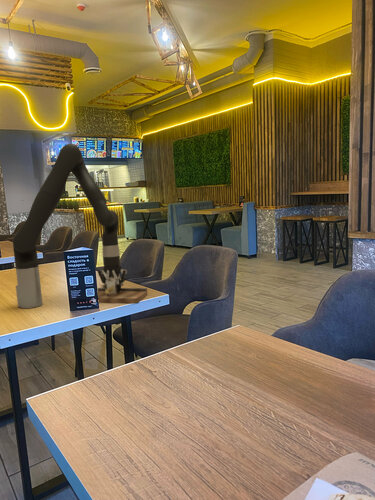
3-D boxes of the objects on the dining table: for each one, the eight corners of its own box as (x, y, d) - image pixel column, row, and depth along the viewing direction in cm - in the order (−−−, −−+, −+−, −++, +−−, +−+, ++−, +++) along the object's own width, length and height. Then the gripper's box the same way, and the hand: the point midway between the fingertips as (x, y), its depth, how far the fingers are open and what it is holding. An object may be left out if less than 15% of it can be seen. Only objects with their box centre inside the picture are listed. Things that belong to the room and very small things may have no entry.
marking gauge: (103, 297, 170) (102, 283, 169) (112, 291, 180) (111, 278, 179) (111, 297, 169) (110, 283, 168) (120, 291, 179) (119, 278, 178)
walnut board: (85, 302, 170) (85, 295, 170) (99, 294, 184) (99, 287, 183) (137, 303, 165) (136, 296, 164) (147, 294, 178) (147, 288, 178)
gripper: (129, 253, 176) (131, 289, 179) (100, 253, 179) (103, 289, 182) (122, 256, 169) (125, 294, 171) (93, 256, 172) (96, 293, 175)
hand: (114, 291), depth 177 cm, fingers closed on marking gauge, 4 cm apart
